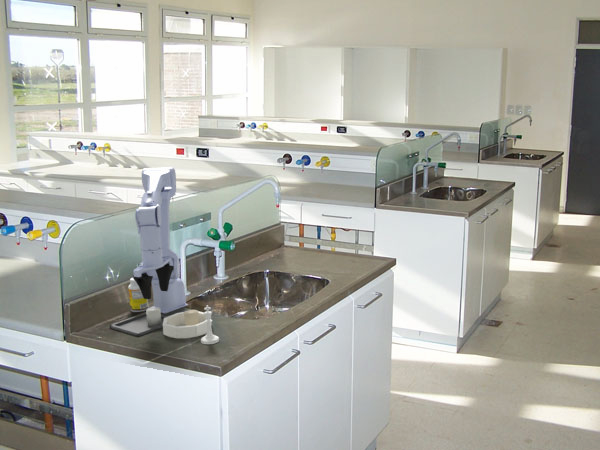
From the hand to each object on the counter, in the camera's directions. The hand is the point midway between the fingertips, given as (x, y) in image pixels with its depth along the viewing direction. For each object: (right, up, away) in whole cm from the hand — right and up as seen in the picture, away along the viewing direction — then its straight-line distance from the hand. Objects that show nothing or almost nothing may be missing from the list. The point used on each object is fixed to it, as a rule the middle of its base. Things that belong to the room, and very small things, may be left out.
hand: (155, 294), depth 203 cm
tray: (-4, -9, +2) cm, 10 cm away
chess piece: (+17, -11, -12) cm, 24 cm away
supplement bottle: (-8, -7, +17) cm, 20 cm away
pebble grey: (-1, -9, +2) cm, 9 cm away
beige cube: (+11, -9, -2) cm, 14 cm away
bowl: (+10, -10, -4) cm, 14 cm away
